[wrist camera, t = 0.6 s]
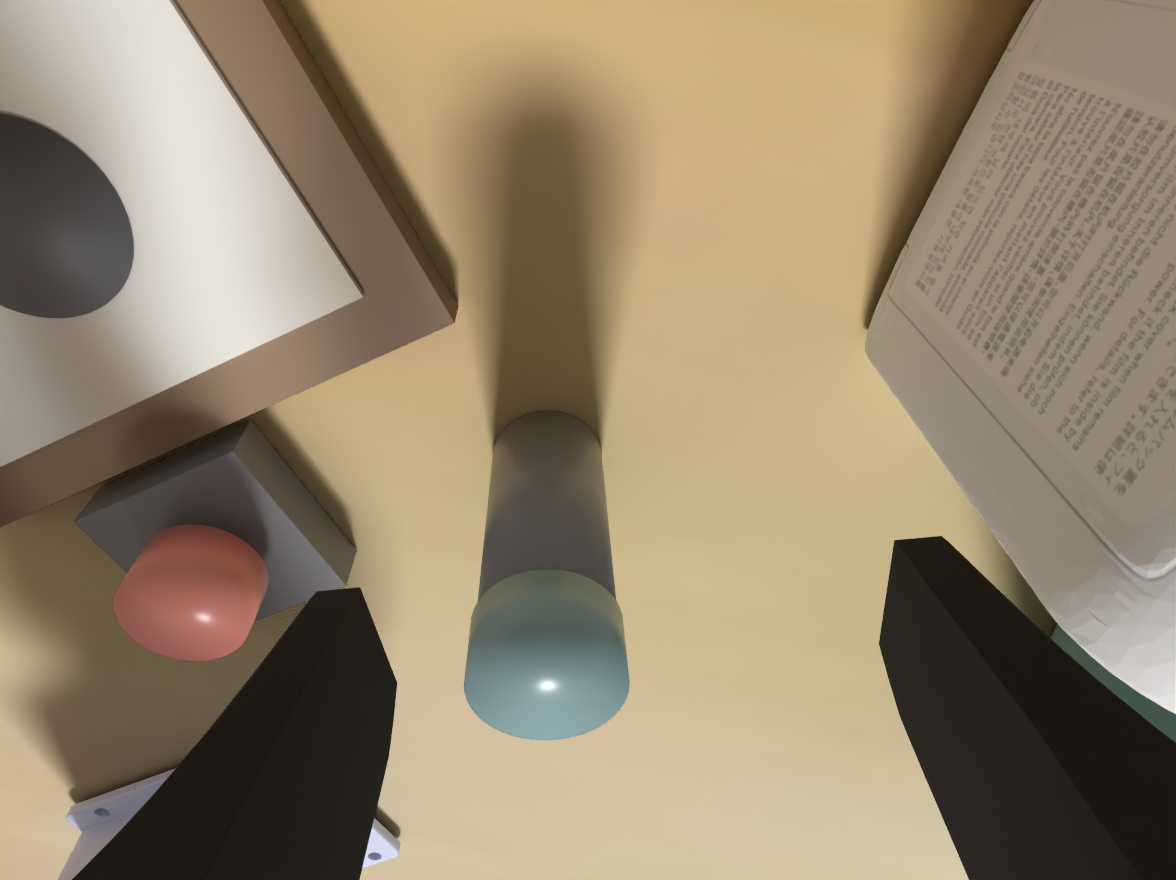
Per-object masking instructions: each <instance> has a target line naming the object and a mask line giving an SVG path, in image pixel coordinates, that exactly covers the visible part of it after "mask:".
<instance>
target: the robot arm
mask: <svg viewBox="0 0 1176 880" xmlns="http://www.w3.org/2000/svg"><path fill="white" fill-rule="evenodd" d="M879 645H880V649H881V653H882V656H883V660H884V663H885V667H886V670H887V674H888V678H889V681H890V685H891V688H892V691H893V695H894V698H895V701H896V705H897V708H898V711H899V715H900V717H901V720H902V722H903V725H904V727H905V730H906V732H907V734H908V737H909V739H910V742H911V744H912V746H913V749H914V751H915V754H916V756H917V758H918V761H919V763H920V765H921V768H922V770H923V773H924V775H925V777H926V780H927V782H928V784H929V787H930V789H931V791H932V794H933V796H934V798H935V801H936V803H937V805H938V808H939V810H940V812H941V815H942V817H943V820H944V822H945V824H946V827H947V829H948V831H949V834H950V836H951V838H952V841H953V843H954V845H955V848H956V850H957V852H958V855H959V857H960V859H961V862H962V864H963V866H964V869H965V871H966V873H967V876H968V878H969V880H1176V743H1175V742H1174V741H1173V740H1172V739H1170V738H1169V737H1168V736H1166V735H1165V734H1164V733H1163V732H1161V731H1160V730H1159V729H1157V728H1156V727H1155V726H1154V725H1152V724H1151V723H1150V722H1149V721H1147V720H1146V719H1145V718H1144V717H1142V716H1141V715H1140V714H1139V713H1138V712H1136V711H1135V710H1134V709H1133V708H1131V707H1130V706H1129V705H1128V704H1126V703H1125V702H1124V701H1123V700H1122V699H1120V698H1119V697H1118V696H1117V695H1115V694H1114V693H1113V692H1112V691H1111V690H1109V689H1108V688H1107V687H1106V686H1105V685H1104V684H1102V683H1101V682H1100V681H1099V680H1098V679H1096V678H1095V677H1094V676H1093V675H1092V674H1091V673H1089V672H1088V671H1087V670H1086V669H1085V668H1084V667H1083V666H1081V665H1080V664H1079V663H1078V662H1077V661H1076V660H1075V659H1073V658H1072V657H1071V656H1070V655H1069V654H1068V653H1067V652H1066V651H1064V650H1063V649H1062V648H1061V647H1060V646H1059V645H1058V644H1057V643H1055V642H1054V641H1053V640H1052V639H1051V638H1050V637H1049V636H1047V635H1046V634H1045V633H1044V632H1043V631H1042V630H1041V629H1040V628H1039V627H1038V626H1036V625H1035V624H1034V623H1033V622H1032V621H1031V620H1030V619H1029V618H1028V617H1027V616H1026V615H1025V614H1023V613H1022V612H1021V611H1020V610H1019V609H1018V608H1017V607H1016V606H1015V605H1014V604H1013V603H1012V602H1011V601H1010V600H1009V599H1007V598H1006V597H1005V596H1004V595H1003V594H1002V593H1001V592H1000V591H999V590H998V589H997V588H996V587H995V586H994V585H993V584H992V583H991V582H990V581H989V580H988V579H986V578H985V577H984V576H983V575H982V574H981V573H980V572H979V571H978V570H977V569H976V568H975V567H974V566H973V565H972V564H971V563H970V562H969V561H968V560H967V559H966V558H965V557H964V556H963V555H962V554H961V553H959V552H958V551H957V550H956V549H955V548H954V547H953V546H952V545H951V544H950V543H949V542H948V541H947V540H945V539H944V538H943V537H942V536H938V537H927V538H915V539H904V540H894V547H893V554H892V560H891V567H890V574H889V580H888V587H887V594H886V600H885V607H884V614H883V621H882V627H881V634H880V641H879ZM396 689H397V681H396V679H395V676H394V674H393V671H392V669H391V666H390V663H389V661H388V658H387V656H386V653H385V651H384V648H383V645H382V643H381V640H380V638H379V635H378V633H377V630H376V627H375V625H374V622H373V620H372V617H371V614H370V612H369V609H368V607H367V604H366V602H365V599H364V596H363V594H362V591H361V589H360V588H349V589H338V590H327V591H317V592H316V593H315V594H314V595H313V596H312V598H311V599H310V600H309V601H308V603H307V604H306V605H305V607H304V608H303V609H302V610H301V612H300V613H299V614H298V616H297V617H296V618H295V620H294V621H293V622H292V623H291V625H290V626H289V627H288V629H287V630H286V631H285V633H284V634H283V635H282V637H281V638H280V639H279V641H278V642H277V643H276V645H275V646H274V647H273V649H272V650H271V651H270V653H269V654H268V655H267V656H266V658H265V659H264V660H263V662H262V663H261V664H260V666H259V667H258V668H257V669H256V671H255V672H254V673H253V675H252V676H251V677H250V679H249V680H248V681H247V682H246V684H245V685H244V686H243V687H242V689H241V690H240V691H239V692H238V694H237V695H236V696H235V697H234V699H233V700H232V701H231V702H230V704H229V705H228V706H227V708H226V709H225V710H224V711H223V713H222V714H221V715H220V716H219V718H218V719H217V720H216V721H215V723H214V724H213V725H212V726H211V728H210V729H209V730H208V731H207V732H206V734H205V735H204V736H203V737H202V738H201V740H200V741H199V742H198V743H197V744H196V746H195V747H194V748H193V749H192V750H191V751H190V752H189V754H188V755H187V756H186V757H185V758H184V759H183V761H182V762H181V763H180V764H179V765H178V766H177V768H175V769H172V770H169V771H167V772H164V773H161V774H158V775H155V776H153V777H150V778H147V779H144V780H141V781H139V782H136V783H133V784H130V785H127V786H125V787H122V788H119V789H116V790H113V791H111V792H108V793H105V794H102V795H99V796H97V797H94V798H91V799H88V800H85V801H83V802H80V803H77V804H75V805H73V806H71V808H70V810H69V812H68V814H67V816H66V818H67V820H68V822H69V823H70V824H72V825H73V826H75V827H76V828H77V829H79V830H80V831H82V833H81V835H80V837H79V839H78V841H77V843H76V845H75V847H74V849H73V851H72V853H71V855H70V857H69V859H68V861H67V863H66V865H65V867H64V869H63V870H62V872H61V874H60V876H59V878H58V880H359V879H360V875H361V871H362V868H364V867H367V866H370V865H373V864H377V863H380V862H383V861H386V860H389V859H392V858H395V857H396V856H397V855H398V854H399V849H400V842H399V841H398V840H397V839H396V838H395V837H394V836H393V835H392V834H391V833H390V832H389V831H388V830H387V829H386V828H384V827H383V826H382V825H381V824H380V823H379V822H378V821H377V820H376V819H375V818H374V817H375V813H376V809H377V805H378V800H379V796H380V792H381V787H382V783H383V779H384V775H385V770H386V766H387V761H388V757H389V750H390V743H391V735H392V727H393V718H394V708H395V699H396Z"/></svg>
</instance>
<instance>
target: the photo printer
mask: <svg viewBox="0 0 1176 880" xmlns="http://www.w3.org/2000/svg"><path fill="white" fill-rule="evenodd" d="M865 351H866V354H867V356H868V358H869V360H870V362H871V363H872V365H873V366H874V368H875V369H876V370H877V372H878V373H879V375H880V376H881V377H882V379H883V380H884V381H885V383H886V384H887V386H888V387H889V389H890V390H891V391H892V393H893V394H894V395H895V397H896V398H897V399H898V401H899V402H900V404H901V405H902V406H903V408H904V409H905V410H906V412H907V413H908V415H909V416H910V417H911V419H912V420H913V422H914V423H915V425H916V426H917V427H918V429H919V430H920V431H921V433H922V434H923V436H924V437H925V439H926V440H927V441H928V443H929V444H930V445H931V447H932V448H933V450H934V451H935V452H936V454H937V455H938V457H939V458H940V460H941V461H942V462H943V464H944V465H945V467H946V468H947V469H948V471H949V472H950V474H951V475H952V476H953V478H954V479H955V481H956V482H957V484H958V485H959V486H960V488H961V489H962V491H963V492H964V493H965V495H966V496H967V498H968V499H969V500H970V502H971V503H972V504H973V506H974V507H975V509H976V510H977V512H978V513H979V515H980V516H981V518H982V519H983V520H984V522H985V523H986V525H987V526H988V527H989V529H990V530H991V532H992V533H993V534H994V536H995V537H996V539H997V540H998V541H999V543H1000V544H1001V546H1002V547H1003V549H1004V550H1005V552H1006V553H1007V554H1008V556H1009V557H1010V558H1011V559H1012V561H1013V562H1014V564H1015V565H1016V567H1017V568H1018V570H1019V571H1020V573H1021V574H1022V576H1023V577H1024V578H1025V580H1026V581H1027V582H1028V584H1029V585H1030V586H1031V588H1032V589H1033V591H1034V592H1035V594H1036V596H1037V597H1038V599H1039V600H1040V601H1041V603H1042V604H1043V605H1044V607H1045V608H1046V609H1047V611H1048V612H1049V613H1050V615H1051V616H1052V617H1053V618H1054V620H1055V621H1056V622H1057V623H1058V625H1059V626H1060V627H1061V628H1062V629H1063V630H1064V631H1065V632H1066V633H1067V634H1068V635H1069V636H1070V637H1071V638H1072V639H1073V640H1074V641H1075V642H1076V643H1077V644H1079V645H1080V646H1081V647H1082V648H1083V649H1084V650H1085V651H1086V652H1087V653H1088V654H1089V655H1090V656H1091V657H1093V658H1094V659H1095V660H1096V661H1097V662H1098V663H1100V664H1101V665H1102V666H1103V667H1104V668H1106V669H1107V670H1108V671H1109V672H1110V673H1112V674H1113V675H1115V676H1116V677H1117V678H1119V679H1120V680H1122V681H1123V682H1125V683H1126V684H1127V685H1129V686H1130V687H1132V688H1133V689H1134V690H1136V691H1137V692H1139V693H1140V694H1142V695H1144V696H1145V697H1147V698H1149V699H1150V700H1152V701H1154V702H1155V703H1157V704H1159V705H1160V706H1162V707H1163V708H1165V709H1167V710H1169V711H1171V712H1173V713H1175V714H1176V0H1034V1H1033V3H1032V4H1031V6H1030V7H1029V9H1028V11H1027V12H1026V14H1025V15H1024V17H1023V19H1022V21H1021V23H1020V24H1019V26H1018V28H1017V30H1016V32H1015V33H1014V35H1013V37H1012V39H1011V40H1010V42H1009V44H1008V46H1007V48H1006V50H1005V52H1004V54H1003V56H1002V58H1001V59H1000V61H999V63H998V65H997V67H996V69H995V71H994V72H993V74H992V76H991V78H990V79H989V81H988V83H987V85H986V87H985V89H984V91H983V93H982V95H981V97H980V99H979V101H978V103H977V105H976V107H975V109H974V111H973V113H972V115H971V116H970V118H969V120H968V122H967V124H966V126H965V127H964V129H963V131H962V133H961V135H960V137H959V139H958V141H957V143H956V145H955V147H954V149H953V151H952V153H951V155H950V157H949V159H948V161H947V163H946V165H945V167H944V169H943V171H942V173H941V175H940V177H939V178H938V180H937V182H936V184H935V186H934V188H933V190H932V192H931V194H930V196H929V198H928V200H927V202H926V204H925V206H924V208H923V211H922V212H921V214H920V216H919V218H918V220H917V222H916V224H915V226H914V228H913V230H912V232H911V234H910V236H909V238H908V240H907V243H906V244H905V246H904V248H903V249H902V251H901V253H900V256H899V258H898V260H897V262H896V264H895V266H894V269H893V271H892V273H891V275H890V278H889V280H888V282H887V284H886V286H885V289H884V291H883V293H882V295H881V297H880V300H879V302H878V304H877V307H876V309H875V312H874V314H873V317H872V320H871V323H870V326H869V329H868V332H867V337H866V342H865Z"/></svg>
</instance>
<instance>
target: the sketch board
mask: <svg viewBox="0 0 1176 880" xmlns="http://www.w3.org/2000/svg"><path fill="white" fill-rule="evenodd" d="M457 310H458V304H457V303H456V301H455V299H454V298H453V296H452V294H451V292H450V291H449V289H448V287H447V286H446V284H445V282H444V281H443V279H442V277H441V275H440V274H439V272H438V270H437V269H436V267H435V265H434V263H433V262H432V260H431V258H430V257H429V255H428V253H427V252H426V250H425V248H424V246H423V245H422V243H421V241H420V240H419V238H418V236H417V234H416V233H415V231H414V229H413V228H412V226H411V224H410V223H409V221H408V219H407V217H406V216H405V214H404V212H403V211H402V209H401V207H400V205H399V204H398V202H397V200H396V199H395V197H394V195H393V194H392V192H391V190H390V188H389V187H388V185H387V183H386V182H385V180H384V178H383V176H382V175H381V173H380V171H379V170H378V168H377V166H376V165H375V163H374V161H373V159H372V158H371V156H370V154H369V153H368V151H367V149H366V147H365V146H364V144H363V142H362V141H361V139H360V137H359V136H358V134H357V132H356V130H355V129H354V127H353V125H352V124H351V122H350V120H349V118H348V117H347V115H346V113H345V112H344V110H343V108H342V107H341V105H340V103H339V101H338V100H337V98H336V96H335V95H334V93H333V91H332V89H331V88H330V86H329V84H328V83H327V81H326V79H325V78H324V76H323V74H322V72H321V71H320V69H319V67H318V66H317V64H316V62H315V60H314V59H313V57H312V55H311V54H310V52H309V50H308V49H307V47H306V45H305V43H304V42H303V40H302V38H301V37H300V35H299V33H298V31H297V30H296V28H295V26H294V25H293V23H292V21H291V20H290V18H289V16H288V14H287V13H286V11H285V9H284V8H283V6H282V4H281V2H280V1H279V0H0V527H2V526H4V525H6V524H8V523H11V522H13V521H15V520H17V519H20V518H22V517H24V516H26V515H28V514H31V513H33V512H35V511H37V510H40V509H42V508H44V507H46V506H48V505H51V504H53V503H55V502H57V501H60V500H62V499H64V498H66V497H68V496H71V495H73V494H75V493H77V492H80V491H82V490H84V489H86V488H88V487H91V486H93V485H95V484H97V483H100V482H102V481H104V480H106V479H109V478H111V477H113V476H115V475H117V474H120V473H122V472H124V471H126V470H129V469H131V468H133V467H135V466H137V465H140V464H142V463H144V462H146V461H149V460H151V459H153V458H155V457H157V456H160V455H162V454H164V453H166V452H169V451H171V450H173V449H175V448H177V447H180V446H182V445H184V444H186V443H189V442H191V441H193V440H195V439H197V438H200V437H202V436H204V435H206V434H209V433H211V432H213V431H215V430H217V429H220V428H222V427H224V426H226V425H229V424H231V423H233V422H235V421H238V420H240V419H242V418H244V417H246V416H249V415H251V414H253V413H255V412H258V411H260V410H262V409H264V408H266V407H269V406H271V405H273V404H275V403H278V402H280V401H282V400H284V399H286V398H289V397H291V396H293V395H295V394H298V393H300V392H302V391H304V390H306V389H309V388H311V387H313V386H315V385H318V384H320V383H322V382H324V381H326V380H329V379H331V378H333V377H335V376H338V375H340V374H342V373H344V372H346V371H349V370H351V369H353V368H355V367H358V366H360V365H362V364H364V363H367V362H369V361H371V360H373V359H375V358H378V357H380V356H382V355H384V354H387V353H389V352H391V351H393V350H395V349H398V348H400V347H402V346H404V345H407V344H409V343H411V342H413V341H415V340H418V339H420V338H422V337H424V336H427V335H429V334H431V333H433V332H435V331H438V330H440V329H442V328H444V327H447V326H449V325H451V324H453V323H455V318H456V314H457Z"/></svg>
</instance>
